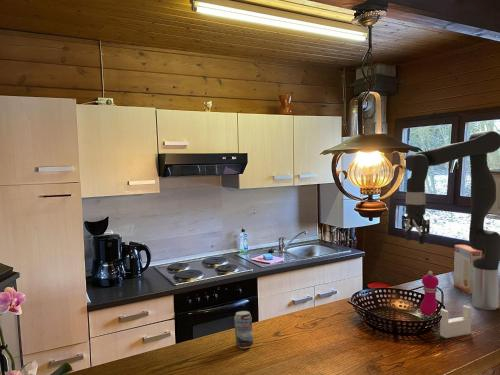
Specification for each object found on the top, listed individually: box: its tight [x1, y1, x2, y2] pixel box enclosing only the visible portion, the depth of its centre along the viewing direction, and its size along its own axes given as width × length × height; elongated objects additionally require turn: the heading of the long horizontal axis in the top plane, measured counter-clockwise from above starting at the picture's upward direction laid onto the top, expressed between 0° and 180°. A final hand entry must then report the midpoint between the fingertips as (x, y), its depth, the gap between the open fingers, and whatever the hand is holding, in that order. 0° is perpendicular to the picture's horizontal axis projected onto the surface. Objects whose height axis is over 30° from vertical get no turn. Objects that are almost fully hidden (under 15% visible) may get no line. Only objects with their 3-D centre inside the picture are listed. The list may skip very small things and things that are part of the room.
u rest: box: [439, 305, 472, 339], centre depth 139 cm, size 11×2×10 cm, turn 106°
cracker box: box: [453, 244, 483, 295], centre depth 184 cm, size 14×6×21 cm, turn 179°
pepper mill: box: [419, 270, 439, 315], centre depth 151 cm, size 7×7×20 cm
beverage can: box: [233, 310, 254, 349], centre depth 133 cm, size 6×7×12 cm
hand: (415, 241), depth 158 cm, fingers open, 7 cm apart
